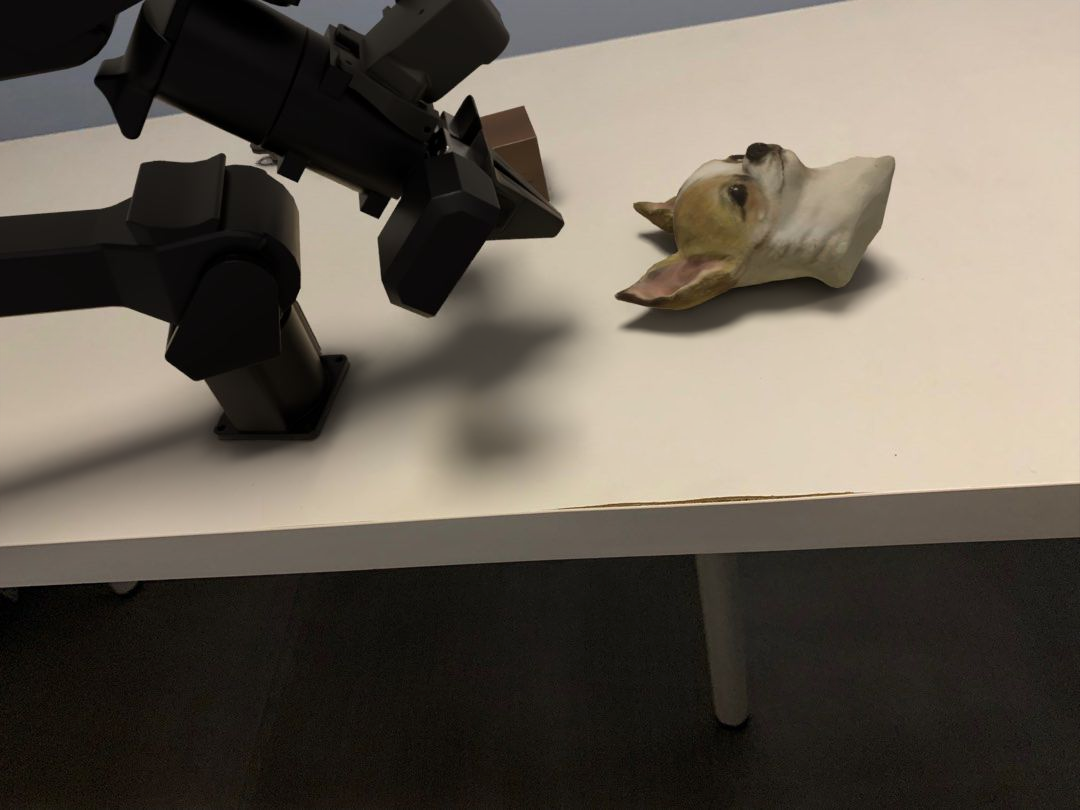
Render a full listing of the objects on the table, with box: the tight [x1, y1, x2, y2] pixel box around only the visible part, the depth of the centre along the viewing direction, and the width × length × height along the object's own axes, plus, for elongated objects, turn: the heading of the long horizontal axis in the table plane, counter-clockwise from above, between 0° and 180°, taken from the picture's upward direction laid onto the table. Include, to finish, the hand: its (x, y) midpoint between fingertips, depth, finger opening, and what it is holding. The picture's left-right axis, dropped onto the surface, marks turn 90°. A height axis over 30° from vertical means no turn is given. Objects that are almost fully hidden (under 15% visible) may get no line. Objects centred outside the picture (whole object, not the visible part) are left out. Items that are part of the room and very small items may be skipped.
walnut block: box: [480, 105, 550, 202], centre depth 60 cm, size 5×5×5 cm
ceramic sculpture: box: [613, 141, 896, 311], centre depth 48 cm, size 11×9×15 cm
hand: (559, 227), depth 46 cm, fingers closed
